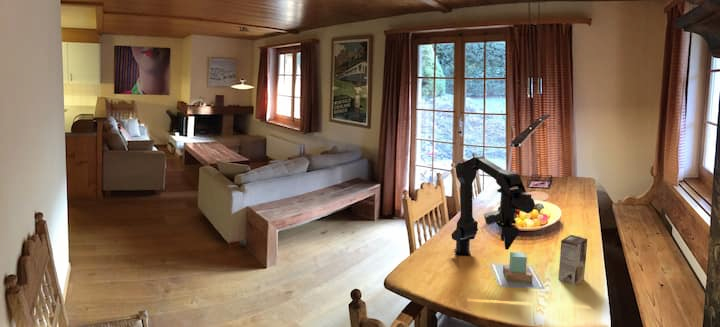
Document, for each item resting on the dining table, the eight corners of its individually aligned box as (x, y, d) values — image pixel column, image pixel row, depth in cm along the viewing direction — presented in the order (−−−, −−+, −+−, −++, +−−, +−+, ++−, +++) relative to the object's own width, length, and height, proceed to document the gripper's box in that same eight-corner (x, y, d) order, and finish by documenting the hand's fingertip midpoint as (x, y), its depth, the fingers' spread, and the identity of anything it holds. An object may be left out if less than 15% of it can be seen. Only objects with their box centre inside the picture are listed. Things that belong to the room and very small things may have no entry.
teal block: (509, 267, 187) (510, 251, 186) (522, 267, 187) (523, 252, 185) (511, 272, 182) (512, 256, 181) (525, 272, 182) (526, 257, 181)
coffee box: (567, 274, 190) (570, 234, 187) (584, 279, 185) (588, 238, 183) (557, 281, 184) (560, 239, 181) (574, 286, 179) (578, 244, 176)
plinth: (502, 272, 190) (503, 264, 189) (526, 273, 189) (527, 266, 188) (506, 281, 181) (507, 274, 180) (532, 283, 180) (532, 275, 179)
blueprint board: (490, 265, 199) (490, 263, 198) (531, 267, 197) (531, 265, 197) (498, 288, 177) (498, 286, 177) (544, 291, 175) (545, 288, 175)
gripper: (483, 198, 196) (480, 235, 199) (489, 212, 178) (486, 252, 181) (511, 199, 195) (508, 237, 198) (521, 213, 177) (517, 254, 180)
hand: (504, 244), depth 189 cm, fingers open, 9 cm apart
